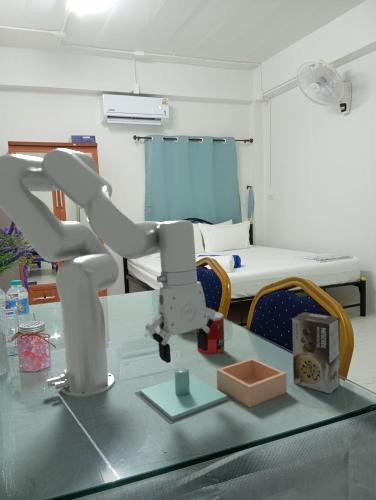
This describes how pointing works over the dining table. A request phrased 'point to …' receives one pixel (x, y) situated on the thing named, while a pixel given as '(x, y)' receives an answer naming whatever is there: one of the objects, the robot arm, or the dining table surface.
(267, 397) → the pink storage bin
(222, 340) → the canned food
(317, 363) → the coffee box
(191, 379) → the lid
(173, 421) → the mat
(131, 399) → the dining table surface
